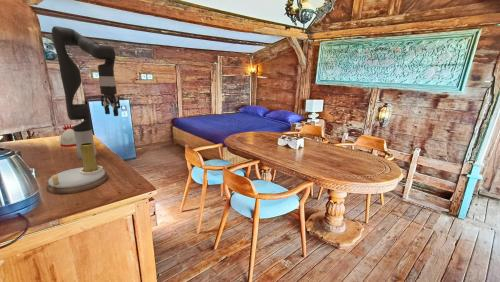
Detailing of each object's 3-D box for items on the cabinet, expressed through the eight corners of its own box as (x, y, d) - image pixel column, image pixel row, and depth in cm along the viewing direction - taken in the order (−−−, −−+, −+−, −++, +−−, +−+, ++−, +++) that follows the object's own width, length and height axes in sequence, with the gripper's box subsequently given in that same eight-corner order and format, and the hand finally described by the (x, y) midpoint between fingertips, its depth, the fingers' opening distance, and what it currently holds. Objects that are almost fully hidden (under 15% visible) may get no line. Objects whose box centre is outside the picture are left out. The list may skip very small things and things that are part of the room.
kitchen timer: (65, 142, 178) (61, 123, 174) (86, 141, 182) (83, 122, 178) (57, 147, 165) (52, 126, 161) (79, 146, 169) (75, 126, 165)
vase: (80, 172, 116) (75, 145, 112) (92, 168, 122) (87, 141, 118) (90, 174, 114) (85, 146, 110) (101, 169, 120) (96, 143, 116)
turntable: (40, 180, 109) (37, 170, 108) (91, 166, 128) (89, 156, 126) (62, 193, 99) (59, 181, 97) (114, 175, 117) (112, 165, 115)
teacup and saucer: (69, 137, 192) (68, 133, 191) (72, 139, 187) (71, 134, 186) (55, 139, 185) (54, 134, 184) (58, 141, 181) (57, 136, 179)
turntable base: (37, 185, 109) (36, 179, 109) (92, 169, 129) (91, 163, 129) (61, 199, 98) (60, 192, 97) (117, 179, 118) (116, 173, 117)
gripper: (93, 84, 125) (98, 114, 130) (108, 86, 118) (112, 117, 122) (107, 84, 131) (111, 112, 136) (122, 85, 124) (126, 115, 129)
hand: (111, 115), depth 129 cm, fingers open, 8 cm apart
